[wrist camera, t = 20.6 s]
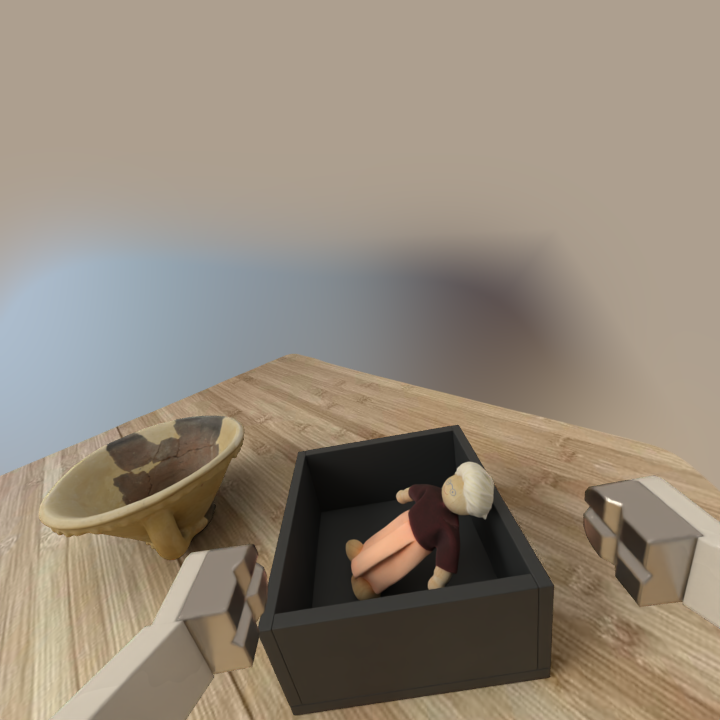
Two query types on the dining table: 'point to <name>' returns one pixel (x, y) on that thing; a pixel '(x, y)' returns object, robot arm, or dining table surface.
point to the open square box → (398, 585)
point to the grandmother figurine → (421, 532)
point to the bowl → (148, 484)
